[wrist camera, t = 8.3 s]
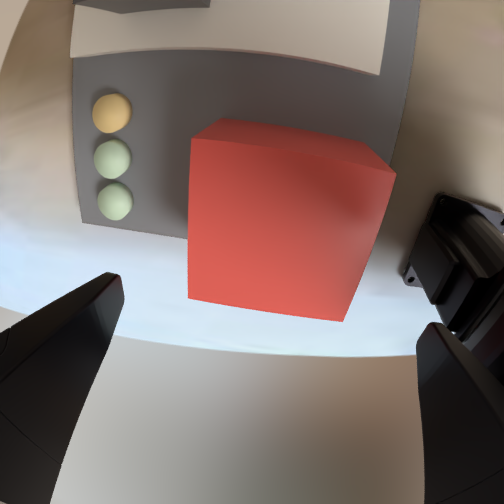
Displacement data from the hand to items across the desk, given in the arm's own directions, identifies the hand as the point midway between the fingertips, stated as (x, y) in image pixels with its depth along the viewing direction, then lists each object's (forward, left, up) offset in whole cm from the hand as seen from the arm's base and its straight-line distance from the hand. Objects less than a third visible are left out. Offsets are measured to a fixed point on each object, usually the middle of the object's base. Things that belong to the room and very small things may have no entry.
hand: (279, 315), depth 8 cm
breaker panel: (+4, -6, -10) cm, 12 cm away
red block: (0, 0, -8) cm, 8 cm away
